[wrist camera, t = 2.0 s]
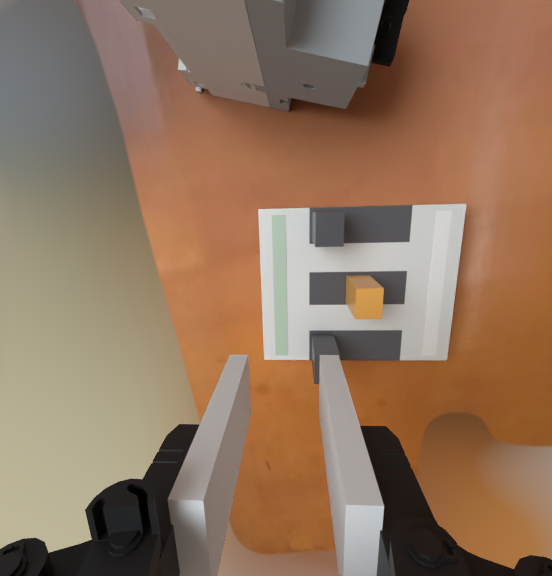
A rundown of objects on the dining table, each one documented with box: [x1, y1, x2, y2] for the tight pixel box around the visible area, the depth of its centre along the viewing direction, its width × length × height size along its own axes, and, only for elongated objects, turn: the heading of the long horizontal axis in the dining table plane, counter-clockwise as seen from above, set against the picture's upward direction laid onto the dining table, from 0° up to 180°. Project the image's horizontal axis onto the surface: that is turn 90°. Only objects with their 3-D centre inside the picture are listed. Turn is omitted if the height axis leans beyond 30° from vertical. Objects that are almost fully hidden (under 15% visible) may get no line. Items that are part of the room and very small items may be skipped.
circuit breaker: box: [119, 0, 409, 111], centre depth 19 cm, size 8×14×15 cm, turn 78°
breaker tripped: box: [346, 275, 384, 319], centre depth 25 cm, size 2×2×4 cm
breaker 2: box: [312, 334, 340, 384], centre depth 27 cm, size 2×2×4 cm
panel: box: [258, 204, 466, 360], centre depth 29 cm, size 17×14×3 cm
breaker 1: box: [312, 211, 345, 247], centre depth 24 cm, size 2×2×4 cm
